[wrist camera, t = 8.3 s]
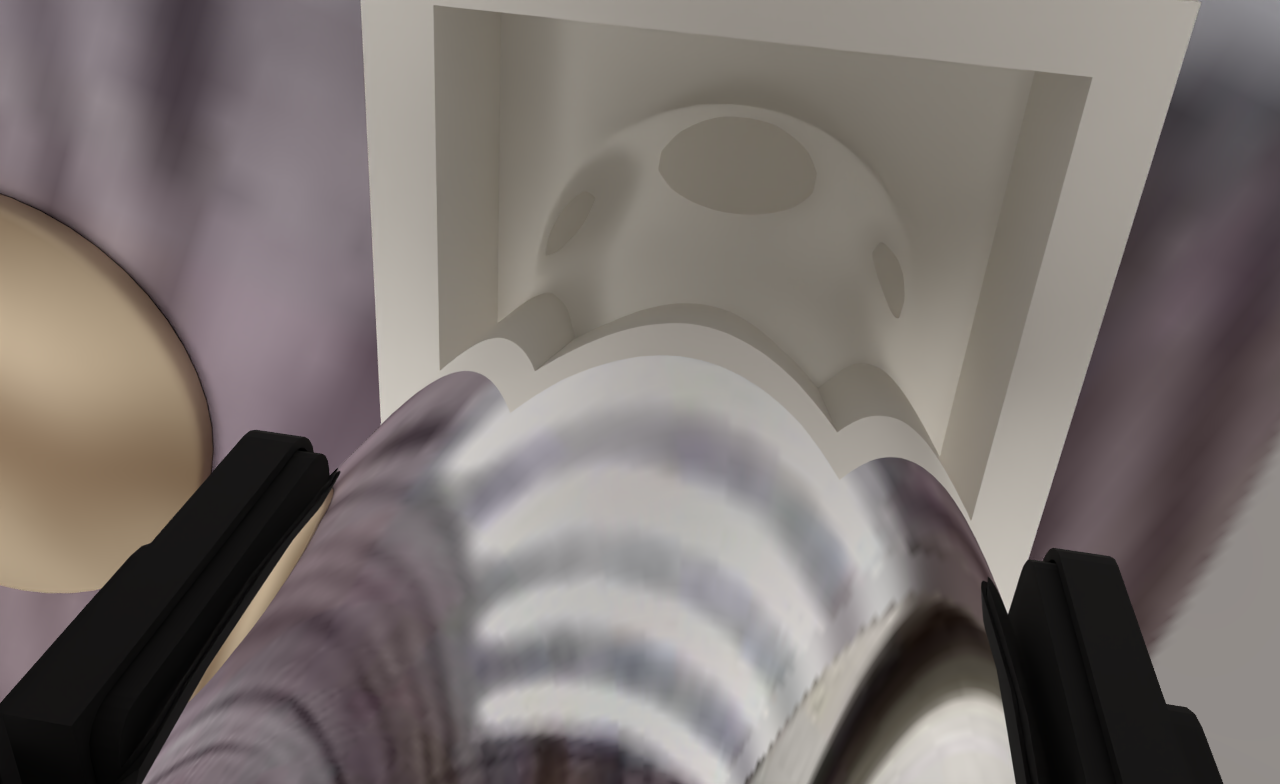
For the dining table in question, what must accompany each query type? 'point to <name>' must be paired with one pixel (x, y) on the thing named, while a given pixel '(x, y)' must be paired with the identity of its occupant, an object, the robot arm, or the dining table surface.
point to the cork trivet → (86, 410)
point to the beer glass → (639, 520)
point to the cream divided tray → (842, 107)
